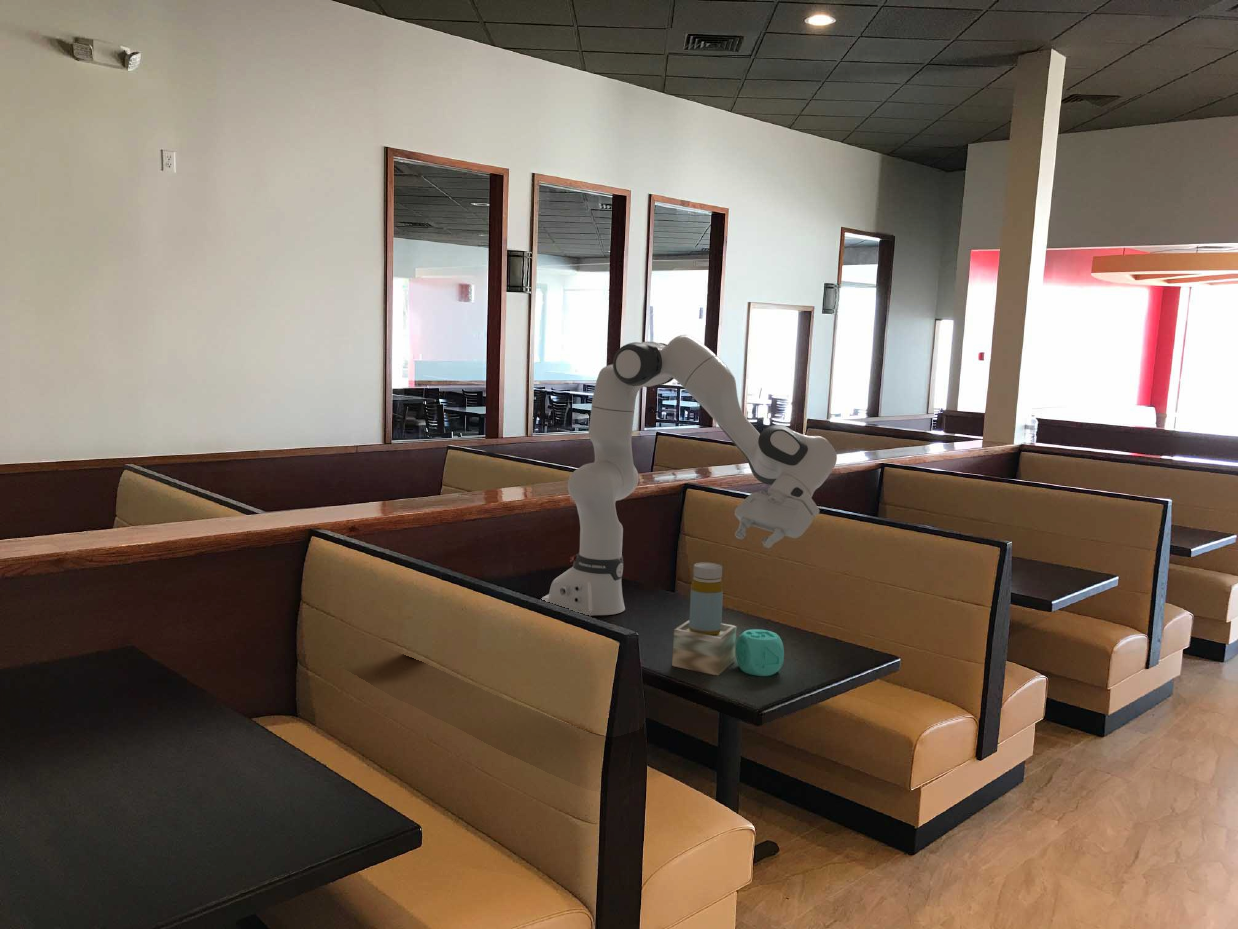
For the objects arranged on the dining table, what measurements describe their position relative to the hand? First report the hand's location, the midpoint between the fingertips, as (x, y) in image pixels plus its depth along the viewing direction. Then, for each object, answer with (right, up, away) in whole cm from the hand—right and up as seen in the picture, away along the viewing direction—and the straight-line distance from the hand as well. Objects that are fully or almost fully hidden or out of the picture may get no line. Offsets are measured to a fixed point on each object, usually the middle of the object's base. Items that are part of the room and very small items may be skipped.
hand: (751, 541), depth 207 cm
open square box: (-11, -27, -2) cm, 29 cm away
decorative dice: (+1, -28, -4) cm, 28 cm away
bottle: (-11, -20, -3) cm, 23 cm away
